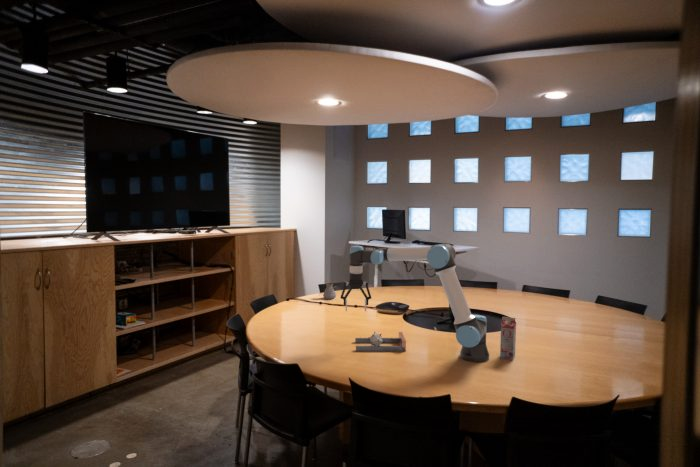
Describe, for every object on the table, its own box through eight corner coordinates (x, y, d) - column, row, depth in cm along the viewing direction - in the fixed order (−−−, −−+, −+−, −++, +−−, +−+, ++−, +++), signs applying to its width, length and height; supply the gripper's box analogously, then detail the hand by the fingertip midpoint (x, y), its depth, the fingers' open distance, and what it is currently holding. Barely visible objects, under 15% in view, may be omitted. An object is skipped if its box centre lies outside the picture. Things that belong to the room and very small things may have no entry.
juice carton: (513, 360, 233) (514, 319, 232) (500, 358, 237) (501, 317, 235) (515, 356, 239) (516, 316, 238) (502, 354, 242) (503, 315, 241)
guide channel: (405, 351, 247) (405, 340, 247) (355, 351, 247) (355, 340, 246) (401, 341, 264) (402, 332, 263) (355, 341, 264) (355, 332, 263)
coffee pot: (320, 299, 384) (320, 282, 383) (327, 296, 394) (327, 280, 393) (342, 301, 374) (342, 284, 373) (348, 299, 384) (348, 282, 383)
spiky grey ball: (375, 353, 254) (368, 342, 249) (370, 344, 261) (364, 333, 256) (388, 346, 254) (381, 334, 249) (384, 337, 261) (377, 325, 256)
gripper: (375, 271, 256) (375, 309, 258) (336, 271, 256) (336, 309, 258) (376, 273, 249) (376, 312, 250) (335, 273, 249) (335, 312, 250)
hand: (355, 310), depth 254 cm, fingers open, 10 cm apart
